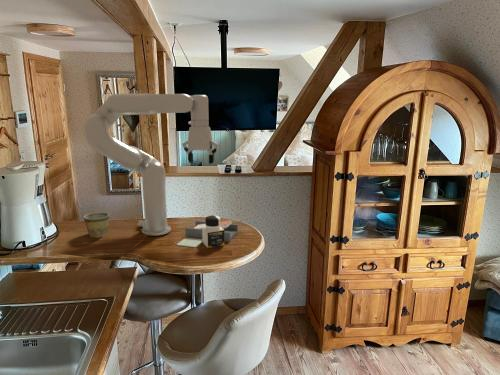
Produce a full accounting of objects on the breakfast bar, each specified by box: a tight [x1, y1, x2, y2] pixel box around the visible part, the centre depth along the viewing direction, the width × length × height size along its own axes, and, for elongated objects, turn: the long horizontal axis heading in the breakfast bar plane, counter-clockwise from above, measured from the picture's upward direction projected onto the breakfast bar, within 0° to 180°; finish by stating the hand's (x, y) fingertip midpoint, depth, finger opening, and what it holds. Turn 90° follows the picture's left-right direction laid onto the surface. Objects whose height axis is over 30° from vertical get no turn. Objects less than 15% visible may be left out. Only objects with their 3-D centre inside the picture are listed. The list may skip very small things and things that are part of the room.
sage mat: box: [176, 237, 203, 248], centre depth 152 cm, size 8×8×1 cm
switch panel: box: [184, 220, 239, 243], centre depth 161 cm, size 20×12×5 cm, turn 74°
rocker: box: [194, 220, 233, 229], centre depth 161 cm, size 16×7×1 cm, turn 74°
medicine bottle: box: [202, 214, 225, 249], centre depth 150 cm, size 7×7×12 cm
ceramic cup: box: [83, 211, 110, 239], centre depth 158 cm, size 13×10×10 cm
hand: (200, 162), depth 165 cm, fingers open, 9 cm apart
